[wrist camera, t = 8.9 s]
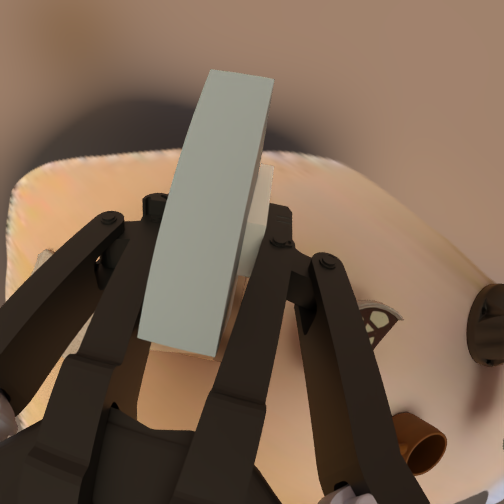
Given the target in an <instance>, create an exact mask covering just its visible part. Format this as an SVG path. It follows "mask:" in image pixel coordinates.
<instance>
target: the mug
mask: <svg viewBox="0 0 504 504" xmlns="http://www.w3.org/2000/svg"><path fill="white" fill-rule="evenodd" d="M392 419H393V423H394V427H395V431H396V435H397V440H398V444H399V448H400V453H401V455H402V457H403V458H404V460H405V462H406V463H407V465H408V467H409V468H410V470H411V472H412V473H413V475H414V476H418V475H421V474H424V473H426V472H428V471H429V470H431V469H432V468H433V467H434V466H435V465H436V464H437V463H438V462H439V461H440V459H441V458H442V456H443V454H444V452H445V450H446V446H447V439H446V436H445V435H444V434H443V433H442V432H441V431H439V430H438V429H437V428H435V427H434V426H432V425H430V424H429V423H427V422H425V421H424V420H422V419H420V418H419V417H417V416H415V415H413V414H411V413H400V414H398V415H395V416H394V417H392Z"/></svg>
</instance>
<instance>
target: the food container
mask: <svg viewBox="0 0 504 504" xmlns="http://www.w3.org/2000/svg"><path fill="white" fill-rule="evenodd" d="M357 304H358V307H359V310H360V312H361V315H362V318H363V321H364V324H365V327H366V330H367V333H368V336H369V339H370V343H371V346H372V349H373V350H374V348H375V347H376V346H377V344H378V343H379V342H380V341H381V340H382V338H383V337H384V336H385V335H386V334H387V333H388V331H389V330H390V329H391V328H392V327H393V326H394V325H395V323H396V322H397V321H398V320H404V319H403V317H402V316H401V315H400V314H399V313H398V312H397V311H395V310H394V309H392V308H391V307H389V306H387V305H385V304H383V303H380V302H377V301H370V300H364V301H357Z"/></svg>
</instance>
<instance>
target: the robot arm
mask: <svg viewBox="0 0 504 504" xmlns="http://www.w3.org/2000/svg"><path fill="white" fill-rule="evenodd" d="M273 171H274V166H271V165H266V164H261V166H260V170H259V174H258V178H257V182H256V186H255V190H254V194H253V198H252V203H251V207H250V211H249V215H248V219H247V224H246V229H245V234H244V239H243V244H242V250H241V255H240V260H239V266H238V271H237V275H240V276H245V277H250V279H249V282H248V285H247V288H246V291H245V294H244V297H243V300H242V303H241V306H240V309H239V312H238V314H237V317H236V320H235V323H234V326H233V329H232V332H231V335H230V338H229V341H228V344H227V347H226V350H225V353H224V356H223V359H222V362H221V365H220V368H219V370H218V373H217V376H216V379H215V382H214V385H213V388H212V390H211V391H210V392H209V395H208V397H207V400H206V403H205V405H204V408H203V411H202V414H201V417H200V420H199V423H198V426H197V428H196V431H195V432H194V431H190V430H154V429H150V428H148V427H146V426H145V425H143V424H141V423H140V422H138V421H137V401H138V396H139V391H140V387H141V383H142V378H143V374H144V370H145V366H146V362H147V358H148V354H149V350H150V346H151V342H150V341H147V340H143V339H140V338H137V336H138V330H139V324H140V319H141V313H142V307H143V302H144V297H145V292H146V287H147V282H148V277H149V272H150V268H151V263H152V259H153V254H154V250H155V246H156V241H157V237H158V233H159V229H160V225H161V221H162V217H163V214H164V210H165V206H166V202H167V199H168V195H169V194H164V193H154V194H149V195H147V196H145V197H144V198H143V217H142V219H141V221H124V216H123V215H122V214H121V213H119V212H116V211H106V212H103V213H101V214H99V215H98V216H96V217H95V218H94V219H93V220H91V221H90V222H89V223H88V224H87V225H85V226H84V227H83V228H82V229H81V230H80V231H78V232H77V233H76V234H75V235H74V236H73V237H72V238H70V239H69V240H68V241H67V242H66V243H65V244H64V245H63V246H62V247H60V248H59V249H58V250H57V251H56V252H55V253H54V254H53V255H52V256H51V257H50V258H49V259H48V260H47V261H45V262H44V263H43V264H42V265H41V266H40V267H39V268H38V269H37V270H36V271H35V272H34V273H33V274H32V275H31V276H30V277H29V278H28V279H27V280H26V281H25V282H24V283H23V284H22V285H21V286H20V287H19V288H18V290H17V291H16V292H15V293H14V294H13V295H12V296H11V297H10V298H9V299H8V300H7V301H6V302H5V304H4V305H3V306H2V307H1V308H0V504H282V503H281V502H280V500H279V499H278V497H277V496H276V495H275V493H274V492H273V490H272V489H271V487H270V486H269V484H268V483H267V481H266V480H265V478H264V477H263V475H262V474H261V472H260V471H259V470H258V468H257V467H256V466H255V465H254V462H255V458H256V454H257V450H258V446H259V441H260V437H261V433H262V428H263V424H264V419H265V414H266V404H265V402H266V397H267V392H268V387H269V383H270V378H271V373H272V369H273V364H274V359H275V354H276V349H277V344H278V339H279V334H280V329H281V324H282V318H283V313H284V308H285V302H286V300H288V301H290V302H292V303H294V304H295V305H294V309H295V315H296V321H297V327H298V333H299V340H300V346H301V353H302V359H303V366H304V373H305V380H306V387H307V394H308V401H309V408H310V416H311V423H312V431H313V439H314V447H315V455H316V464H317V470H318V476H319V481H320V484H321V487H322V490H323V494H324V496H325V497H323V498H322V499H321V500H320V501H319V502H318V504H430V502H429V500H428V499H427V497H426V495H425V493H424V492H423V490H422V488H421V487H420V485H419V483H418V482H417V480H416V478H415V477H414V475H413V473H412V472H411V470H410V468H409V467H408V465H407V463H406V462H405V460H404V458H403V457H402V455H401V453H400V448H399V444H398V440H397V435H396V431H395V427H394V423H393V419H392V415H391V411H390V407H389V404H388V400H387V396H386V393H385V389H384V386H383V382H382V379H381V375H380V372H379V368H378V365H377V362H376V358H375V355H374V352H373V349H372V346H371V343H370V339H369V336H368V333H367V330H366V327H365V324H364V321H363V318H362V315H361V312H360V310H359V307H358V304H357V301H356V298H355V295H354V293H353V290H352V287H351V284H350V282H349V279H348V276H347V274H346V271H345V268H344V266H343V264H342V262H341V261H340V260H339V259H338V258H337V257H335V256H334V255H332V254H329V253H325V252H319V253H316V254H314V255H313V257H312V258H311V257H309V256H306V255H304V254H302V253H301V252H299V251H298V250H297V249H296V248H295V243H294V241H293V240H292V212H291V211H290V209H289V208H288V207H286V206H282V205H277V204H272V203H269V202H270V195H271V187H272V179H273ZM99 256H100V259H99V260H98V261H97V262H96V260H97V258H98V257H99ZM93 313H94V314H93ZM92 314H93V316H92ZM91 316H92V319H91V321H90V323H89V326H88V328H87V330H86V333H85V335H84V337H83V340H82V342H81V345H80V347H79V350H78V351H77V353H75V354H69V355H68V356H66V358H65V359H64V361H63V363H62V366H61V368H60V371H59V374H58V376H57V379H56V382H55V384H54V387H53V390H52V393H51V396H50V399H49V402H48V405H47V408H46V411H45V414H44V417H43V419H42V420H40V421H38V422H37V423H35V424H33V425H31V426H29V427H27V428H26V429H24V430H22V431H20V432H18V433H17V430H18V425H17V423H16V421H15V417H16V416H17V415H18V414H19V413H20V412H21V411H22V410H23V409H24V408H25V407H26V406H27V405H28V404H29V402H30V401H31V400H32V398H33V397H34V395H35V394H36V393H37V391H38V390H39V388H40V387H41V385H42V384H43V382H44V381H45V379H46V378H47V376H48V375H49V373H50V372H51V370H52V369H53V367H54V366H55V365H56V363H57V362H58V360H59V359H60V357H61V356H62V355H63V353H64V352H65V350H66V349H67V348H68V346H69V345H70V344H71V342H72V341H73V339H74V338H75V337H76V335H77V334H78V333H79V331H80V330H81V329H82V327H83V326H84V325H85V323H86V322H87V321H88V320H89V318H90V317H91ZM467 342H468V348H469V351H470V354H471V356H472V358H473V359H474V361H475V362H477V363H478V364H480V365H484V366H489V367H493V366H498V365H502V364H504V284H491V285H488V286H486V287H485V288H484V289H482V290H481V292H480V293H479V294H478V296H477V297H476V299H475V301H474V303H473V305H472V308H471V311H470V315H469V319H468V326H467ZM9 435H10V436H11V437H9V438H7V437H8V436H9ZM12 435H13V436H12ZM503 450H504V440H503Z"/></svg>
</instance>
